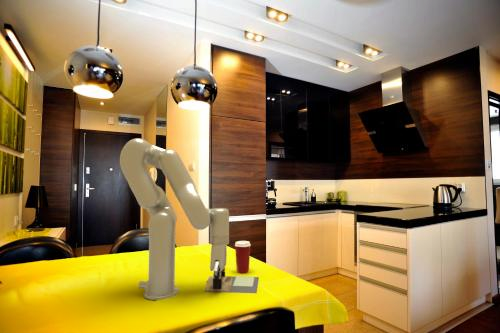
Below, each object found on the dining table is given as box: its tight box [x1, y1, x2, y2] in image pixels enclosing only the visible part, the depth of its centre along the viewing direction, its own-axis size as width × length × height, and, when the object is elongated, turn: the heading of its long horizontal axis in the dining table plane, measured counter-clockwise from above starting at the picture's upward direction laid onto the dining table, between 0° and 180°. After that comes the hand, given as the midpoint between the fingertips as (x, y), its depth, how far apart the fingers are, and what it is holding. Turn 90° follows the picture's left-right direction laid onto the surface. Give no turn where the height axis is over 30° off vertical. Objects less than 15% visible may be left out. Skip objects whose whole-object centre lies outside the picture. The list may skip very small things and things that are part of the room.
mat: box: [204, 275, 260, 294], centre depth 112 cm, size 20×18×1 cm
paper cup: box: [234, 240, 252, 275], centre depth 128 cm, size 8×8×14 cm
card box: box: [205, 275, 232, 291], centre depth 108 cm, size 9×6×4 cm, turn 85°
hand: (219, 284), depth 108 cm, fingers open, 7 cm apart
